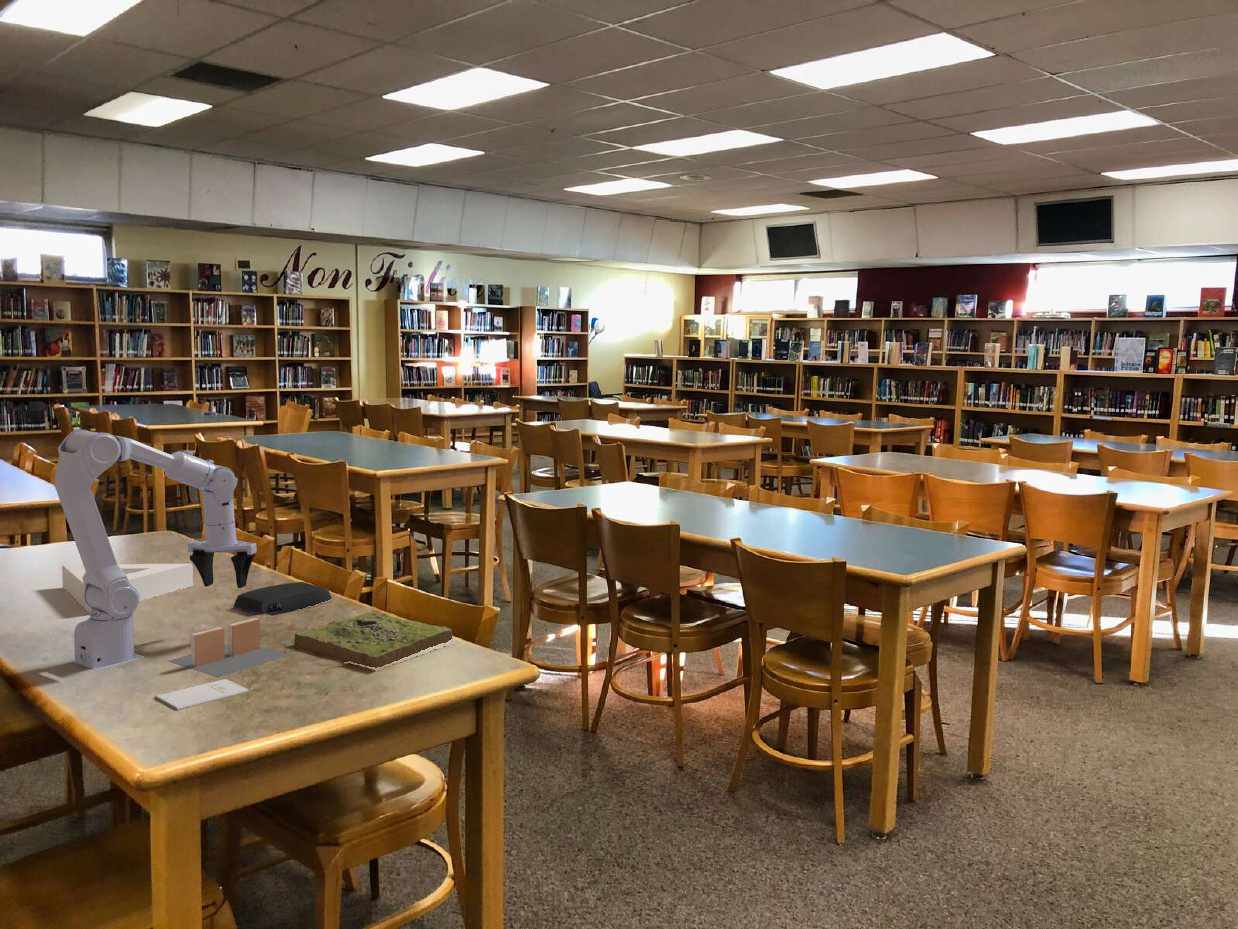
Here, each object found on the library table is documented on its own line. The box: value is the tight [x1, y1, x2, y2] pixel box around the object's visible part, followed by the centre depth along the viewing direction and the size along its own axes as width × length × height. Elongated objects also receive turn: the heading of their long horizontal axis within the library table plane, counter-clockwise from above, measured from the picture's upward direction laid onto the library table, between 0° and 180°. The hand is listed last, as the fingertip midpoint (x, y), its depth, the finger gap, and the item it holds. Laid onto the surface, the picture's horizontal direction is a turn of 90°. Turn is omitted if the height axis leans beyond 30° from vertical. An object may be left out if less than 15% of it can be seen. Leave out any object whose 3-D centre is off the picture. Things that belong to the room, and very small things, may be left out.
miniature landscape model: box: [293, 611, 453, 668], centre depth 190 cm, size 22×24×5 cm
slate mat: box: [168, 643, 291, 678], centre depth 178 cm, size 16×15×1 cm
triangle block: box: [61, 563, 194, 614], centre depth 225 cm, size 30×26×6 cm
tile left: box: [190, 626, 226, 667], centre depth 174 cm, size 6×2×6 cm, turn 149°
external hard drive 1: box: [154, 678, 249, 711], centre depth 158 cm, size 2×8×12 cm
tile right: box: [228, 617, 261, 656], centre depth 181 cm, size 6×2×6 cm, turn 149°
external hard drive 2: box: [232, 581, 333, 617], centre depth 219 cm, size 13×19×4 cm
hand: (225, 586), depth 192 cm, fingers open, 7 cm apart
